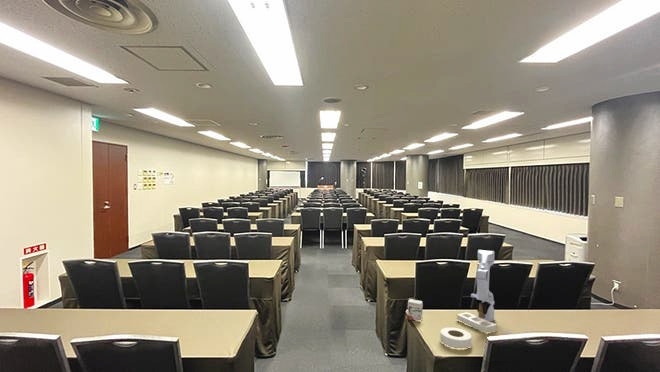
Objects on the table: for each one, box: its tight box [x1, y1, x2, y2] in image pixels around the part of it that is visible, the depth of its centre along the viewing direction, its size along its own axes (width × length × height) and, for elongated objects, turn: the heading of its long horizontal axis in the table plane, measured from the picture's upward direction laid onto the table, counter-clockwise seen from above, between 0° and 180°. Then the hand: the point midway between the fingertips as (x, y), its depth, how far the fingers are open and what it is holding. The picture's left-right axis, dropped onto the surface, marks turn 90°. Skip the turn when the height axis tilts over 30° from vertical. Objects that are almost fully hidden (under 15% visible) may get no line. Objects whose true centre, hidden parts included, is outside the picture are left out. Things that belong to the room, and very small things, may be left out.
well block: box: [456, 312, 498, 333], centre depth 198 cm, size 9×21×4 cm, turn 27°
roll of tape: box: [439, 327, 472, 348], centre depth 176 cm, size 16×16×6 cm
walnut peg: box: [479, 303, 485, 318], centre depth 193 cm, size 4×4×8 cm
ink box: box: [407, 298, 424, 321], centre depth 207 cm, size 9×5×12 cm, turn 62°
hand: (482, 312), depth 193 cm, fingers closed on walnut peg, 3 cm apart
